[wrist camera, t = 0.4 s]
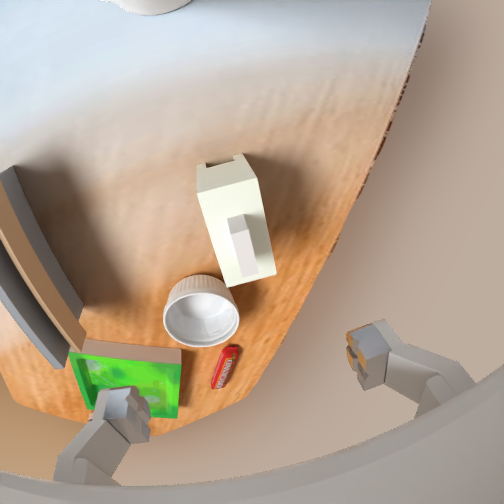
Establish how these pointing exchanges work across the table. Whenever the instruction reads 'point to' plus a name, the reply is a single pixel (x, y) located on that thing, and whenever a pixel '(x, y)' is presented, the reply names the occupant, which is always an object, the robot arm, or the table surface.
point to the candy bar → (224, 367)
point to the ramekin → (201, 312)
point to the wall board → (35, 279)
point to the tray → (129, 373)
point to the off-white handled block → (235, 220)
